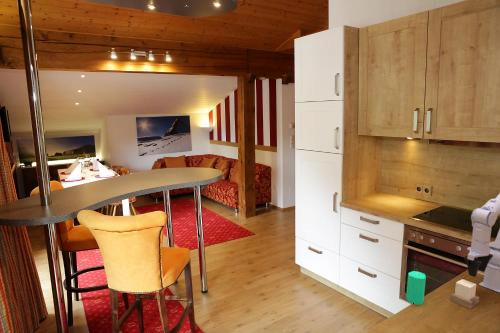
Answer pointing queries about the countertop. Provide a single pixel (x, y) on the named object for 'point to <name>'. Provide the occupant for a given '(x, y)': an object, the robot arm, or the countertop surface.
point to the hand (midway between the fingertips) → (476, 273)
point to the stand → (464, 301)
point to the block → (465, 289)
